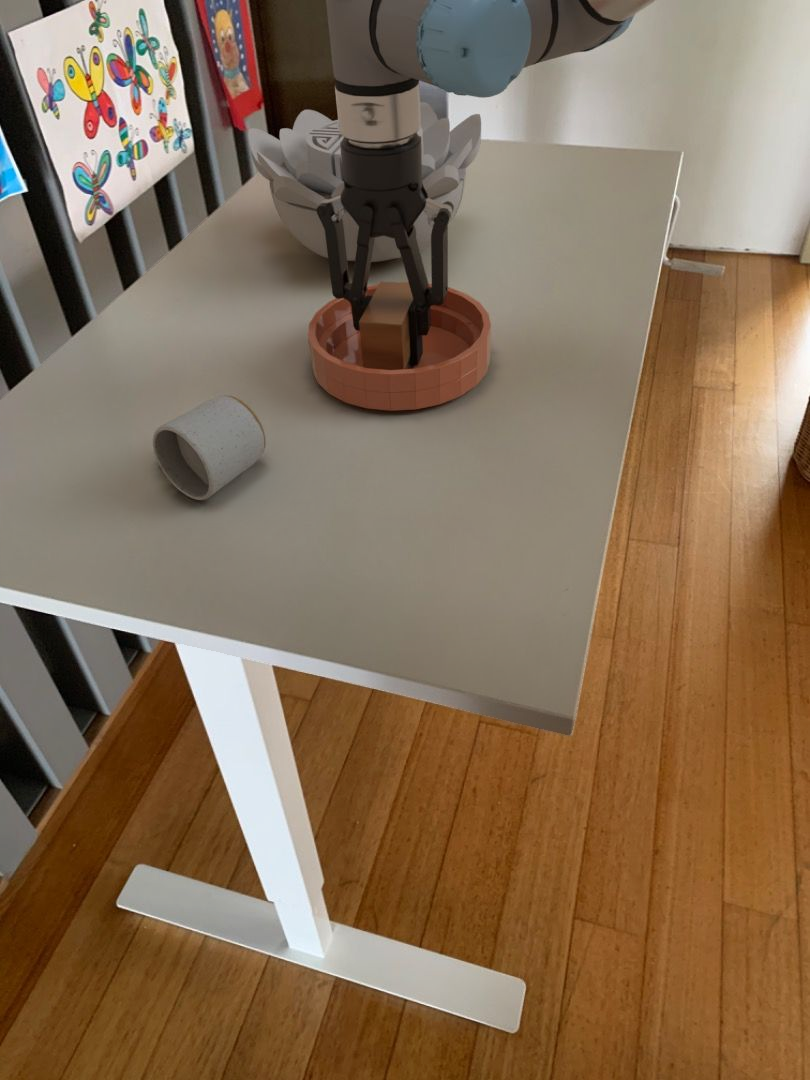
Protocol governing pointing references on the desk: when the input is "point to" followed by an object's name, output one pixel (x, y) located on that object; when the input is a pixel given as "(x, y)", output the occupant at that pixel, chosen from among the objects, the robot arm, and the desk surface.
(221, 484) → the ceramic mug
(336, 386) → the terracotta bowl
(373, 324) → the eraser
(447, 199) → the decorative bowl
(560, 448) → the desk surface
